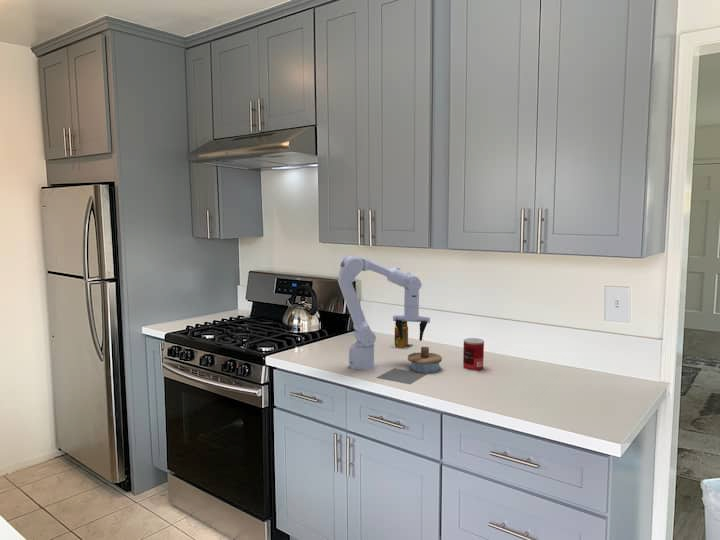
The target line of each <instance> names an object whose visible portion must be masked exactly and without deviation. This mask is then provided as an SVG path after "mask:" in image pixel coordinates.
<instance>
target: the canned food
mask: <svg viewBox="0 0 720 540" xmlns="http://www.w3.org/2000/svg"><path fill="white" fill-rule="evenodd" d="M484 351H485V341H484V339H482V338H477V337H469V338H465V339H463V351H462V352H463V354H462V355H463V358H462V359H463V360H462V361H463V363H462V365H463V368H464V369H466V370H469V371H470V370H471V371H472V370H473V371H481V370H483V367H484V358H485V357H484V356H485V355H484V353H485V352H484Z"/></svg>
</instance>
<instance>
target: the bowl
mask: <svg viewBox="0 0 720 540" xmlns="http://www.w3.org/2000/svg"><path fill="white" fill-rule="evenodd" d="M411 370H413V371H414V372H419V373H435V372H438V371H439V370H440V362H439V363H435V364H418V363H413V362H411Z"/></svg>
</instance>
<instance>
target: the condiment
mask: <svg viewBox="0 0 720 540" xmlns="http://www.w3.org/2000/svg"><path fill="white" fill-rule="evenodd" d="M394 323H396V321H394ZM394 345H395V347H398V348H397V349H406V350H407V349H408V348H410V347H412V346H413V345H414V343H409V327H408V321H403V339H402V340H401V339H400V334H399V331H398V329H397V326H396V324H395V325H394ZM395 347H394V348H395ZM406 347H407V348H406Z"/></svg>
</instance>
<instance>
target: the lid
mask: <svg viewBox="0 0 720 540" xmlns="http://www.w3.org/2000/svg"><path fill="white" fill-rule="evenodd" d="M407 361H409V362H410V363H412V362H413V363H418V364H435V363H439V364H440V363H442V361H443V356H441V355H440V354H438V353H434V352H430V347H429V346H421V347H420V352H413V353H409V354H408V355H407Z"/></svg>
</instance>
